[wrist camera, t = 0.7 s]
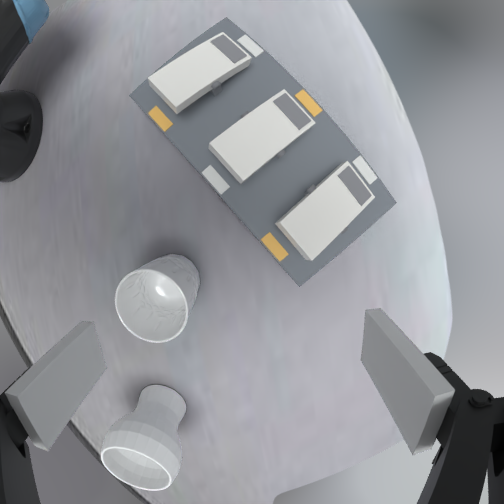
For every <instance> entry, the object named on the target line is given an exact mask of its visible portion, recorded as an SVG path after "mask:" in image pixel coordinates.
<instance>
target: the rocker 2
mask: <svg viewBox="0 0 504 504" xmlns="http://www.w3.org/2000/svg"><path fill="white" fill-rule="evenodd" d="M241 118H242V119H240V120H239V121H238V122H236V123H235V124H233V125H232V126H231V127H229V128H228V129H227V130H225V131H224V132H223V133H221V134H220V135H219V136H218V137H216V138H215V139H214V140H212V141H211V142H210V143H209V150H210V151H211V152H212V153H213V154H214V155H215V156H216V157H217V158H218V160H219V161H220V162H221V163H222V164H223V165H224V166H225V167H226V168H227V170H228V171H229V172H230V173H231V174H232V175H233V176H234V177H235V179H236V180H237V181H238V182H239V183H240V184H242V183H243V182H244V181H246V180H247V179H248V178H249V177H250V176H252V175H253V174H254V173H255V172H256V171H258V170H259V169H260V168H261V167H262V166H264V165H265V164H266V163H267V162H269V161H270V160H271V159H272V158H273V157H275V156H277V157H278V158H280V157H281V156H282V155H284V154H285V153H286V151H285V150H284V149H285V148H286V147H287V146H288V145H290V144H291V143H292V142H293V141H295V140H296V139H297V138H298V137H300V136H301V135H302V134H304V133H305V132H306V131H307V130H309V129H310V128H311V127H312V126H313V125H314V124H315V122H314V120H313V119H312V118H311V117H310V116H309V115H308V114H307V113H306V112H305V110H304V109H303V108H302V107H301V106H300V105H299V104H298V103H297V102H296V101H295V100H294V99H293V98H292V97H291V96H290V94H289V93H288V92H287V91H286V90H285V89H284V90H282V91H281V92H279V93H278V94H276V95H275V96H273V97H272V98H270V99H269V100H267V101H266V102H264V103H263V104H261V105H260V106H258V107H257V108H256V109H254V110H253V111H251V112H249V111H246V112H244V113H243V114H242V115H241Z"/></svg>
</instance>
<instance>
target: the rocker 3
mask: <svg viewBox="0 0 504 504" xmlns="http://www.w3.org/2000/svg"><path fill="white" fill-rule="evenodd" d="M306 191H307V192H308V194H307V195H306V196H305V197H304V198H302V199H301V200H300V201H299V202H298V203H297V204H296V205H295V206H294V207H292V208H291V209H290V210H289V211H288V212H287V213H286V214H285V215H284V216H283V217H281V218H280V219H279V220H278V221H277V222H276V223H275V224H276V225H277V227H278V228H279V229H280V230H281V231H282V232H283V234H284V235H285V236H286V237H287V238H288V240H289V241H290V242H291V243H292V244H293V245H294V247H295V248H296V249H297V250H298V251H299V253H300V254H301V255H302V256H303V257H304V258H305V260H310V261H312V260H313V259H314V258H315V257H316V256H317V255H319V254H320V253H321V252H322V251H323V250H324V249H325V248H326V247H327V246H328V245H329V244H330V243H331V242H332V241H333V240H334V239H335V238H336V237H337V236H338V235H339V234H340V233H341V234H343V233H345V232H346V231H347V230H348V227H347V226H348V225H349V224H350V223H351V222H352V220H353V219H354V218H355V217H356V216H357V215H358V214H359V213H360V212H361V211H362V210H363V209H364V208H365V207H366V206H367V205H368V204H369V203H370V202H371V201H372V200H373V199H374V198H375V196H374V195H373V193H372V192H371V191H370V189H369V188H368V187H367V185H366V184H365V183H364V181H363V180H362V179H361V177H360V176H359V175H358V173H357V172H356V171H355V170H354V168H353V167H352V166H351V165H350V163H349V162H348V161H346V162H344V163H342V164H340V165H339V166H338V167H337V168H336V169H335V170H333V171H332V172H331V173H330V174H329V175H328V176H327V177H326V178H325V179H323V180H322V181H321V182H320V183H319V184H318V185H317V186H316V187H315V185H314V184H313V185H311V186H310V187H309V188H308V189H307V190H306Z"/></svg>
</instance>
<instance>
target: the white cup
mask: <svg viewBox="0 0 504 504" xmlns="http://www.w3.org/2000/svg"><path fill="white" fill-rule="evenodd" d="M199 286H200V277H199V272H198V270H197V269H196V267H195V265H194V264H193V262H192V261H190V260H189V259H187V258H186V257H184V256H182V255H176V254H169V255H166V256H162V257H160V258H157V259H155V260H153V261H151V262H149V263H147V264H145V265H143V266H141V267H140V268H138V269H136V270H134V271H132V272H131V273H129V274H127V275H126V276H125V277H124V278H123V279H122V280H121V281H120V283H119V285H118V287H117V289H116V293H115V307H116V311H117V314H118V316H119V318H120V320H121V322H122V323H123V325H124V326H125V327H126V328H127V329H128V330H129V331H130V332H131V333H132V334H133V335H135V336H136V337H138V338H140V339H142V340H145V341H148V342H153V343H161V342H167V341H170V340H172V339H174V338H175V337H177V336H178V335H179V334H180V333H181V332H182V331H183V329H184V327H185V325H186V323H187V320H188V318H189V315H190V313H191V310H192V308H193V306H194V303H195V300H196V297H197V292H198V289H199Z"/></svg>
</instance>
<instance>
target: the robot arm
mask: <svg viewBox="0 0 504 504" xmlns="http://www.w3.org/2000/svg"><path fill="white" fill-rule="evenodd" d="M48 16H49V7H48V5H47V3H46V2H45V0H0V84H1V82H2V81H3V79H4V78H5V76H6V75H7V73H8V72H9V70H10V69H11V67H12V66H13V64H14V63H15V62H16V60H17V59H18V57H19V56H20V55H21V53H22V52H23V51H24V49H25V48H26V47H27V46H28V44H30V43H31V42H32V40H33V37H34V36H35V35H36V33H37V32H38V31H39V29H40V28H41V27H42V26H43V24H44V23H45V22H46V20H47V18H48ZM41 131H42V111H41V107H40V104H39V102H38V100H37V98H36V97H35V96H34V95H33V94H31V93H28V92H25V91H22V90H11V91H4V92H0V182H9V181H13V180H15V179H17V178H18V177H19V176H20V175H22V174H23V173H24V171H25V170H26V169H27V168H28V166H29V165H30V163H31V161H32V159H33V157H34V155H35V153H36V151H37V148H38V145H39V141H40V137H41ZM361 361H362V363H363V365H364V367H365V368H366V370H367V372H368V374H369V375H370V377H371V379H372V381H373V382H374V384H375V386H376V388H377V390H378V391H379V393H380V395H381V397H382V399H383V401H384V402H385V404H386V406H387V408H388V410H389V412H390V413H391V415H392V417H393V419H394V421H395V423H396V424H397V426H398V428H399V430H400V432H401V434H402V436H403V438H404V440H405V441H406V443H407V445H408V447H409V449H410V451H411V453H412V455H415V454H418V453H421V452H424V451H427V450H430V449H432V446H433V444H434V442H435V440H436V438H437V439H438V441H439V442H440V444H441V446H440V448H439V450H438V452H437V454H436V456H435V458H434V460H433V462H432V464H433V467H432V469H431V472H430V474H429V477H428V479H427V482H426V484H425V487H424V489H423V491H422V493H421V496H420V498H419V500H418V502H417V504H479V501H480V497H481V493H482V490H483V485H484V481H485V476H486V472H488V490H489V491H488V493H489V504H504V397H501V398H493V396H492V395H491V394H490V393H488V392H487V391H484V390H481V389H472V390H471V389H470V388H469V387H468V386H467V385H466V384H465V383H464V382H463V381H462V380H461V379H460V378H459V376H458V375H457V374H456V373H455V372H453V371H452V369H451V368H450V367H449V366H447V364H446V363H445V362H444V361H443V360H442V358H441V357H439V356H437V355H435V354H433V353H431V352H429V353H425V354H423V353H422V352H421V351H420V350H419V349H418V348H417V347H416V345H415V344H414V343H413V342H412V341H411V340H410V339H409V338H408V337H407V336H406V335H405V334H404V332H403V331H402V330H401V329H400V328H399V327H398V326H397V325H396V324H395V323H394V322H393V321H392V320H391V319H390V318H389V317H388V316H387V315H386V313H385V312H384V311H383V310H382V309H381V308H378V309H370V310H365V323H364V335H363V345H362V354H361ZM106 369H107V366H106V363H105V360H104V356H103V353H102V350H101V346H100V343H99V339H98V336H97V332H96V328H95V325H94V322H86V321H82V322H81V323H79V324H78V325H77V326H76V327H75V328H74V329H73V330H71V331H70V332H69V333H68V334H67V335H66V336H65V337H63V338H62V339H61V340H60V341H59V342H58V343H57V344H56V345H55V346H53V347H52V348H51V349H50V350H49V351H48V352H47V353H46V354H45V355H44V356H43V357H41V358H40V359H39V360H38V361H37V362H36V363H35V364H34V365H33V366H32V367H30V368H28V369H27V370H26V371H25V372H24V373H23V374H22V375H21V376H20V377H19V378H18V379H17V380H16V381H14V382H13V383H12V384H11V385H10V386H9V387H8V388H7V389H6V390H5V391H4V392H3V393H2V394H1V395H0V504H41V503H40V500H39V496H38V492H37V488H36V483H35V479H34V474H33V470H32V464H31V458H30V453H29V447H28V445H27V443H26V441H25V440H26V439H27V437H28V436H29V437H30V439H31V440H32V442H33V444H34V445H35V446H36V447H39V448H41V449H44V450H47V451H49V449H50V448H51V446H52V445H53V443H54V442H55V441H56V439H57V438H58V436H59V435H60V433H61V432H62V430H63V429H64V427H65V426H66V425H67V423H68V422H69V420H70V419H71V417H72V416H73V414H74V413H75V412H76V410H77V409H78V407H79V406H80V405H81V403H82V402H83V400H84V399H85V398H86V396H87V395H88V393H89V392H90V391H91V389H92V388H93V386H94V385H95V384H96V382H97V381H98V380H99V378H100V377H101V376H102V374H103V373H104V371H105V370H106Z"/></svg>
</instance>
